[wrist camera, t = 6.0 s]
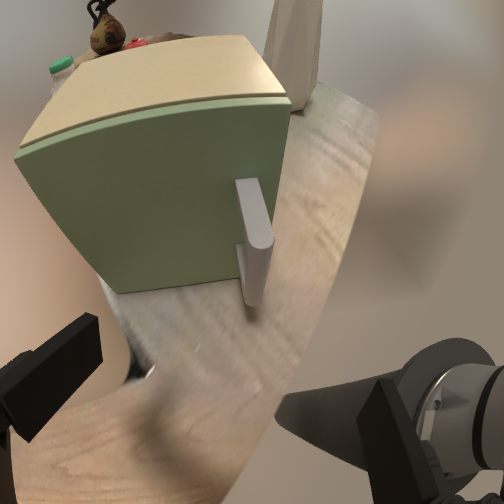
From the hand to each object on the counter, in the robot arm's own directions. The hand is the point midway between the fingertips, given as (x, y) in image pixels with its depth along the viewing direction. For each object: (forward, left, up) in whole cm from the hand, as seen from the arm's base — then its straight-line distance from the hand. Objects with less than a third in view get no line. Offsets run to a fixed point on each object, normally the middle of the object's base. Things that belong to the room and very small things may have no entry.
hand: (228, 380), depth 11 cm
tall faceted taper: (-19, -51, -17) cm, 57 cm away
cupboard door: (+3, -10, -17) cm, 20 cm away
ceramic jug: (+36, -121, -17) cm, 127 cm away
